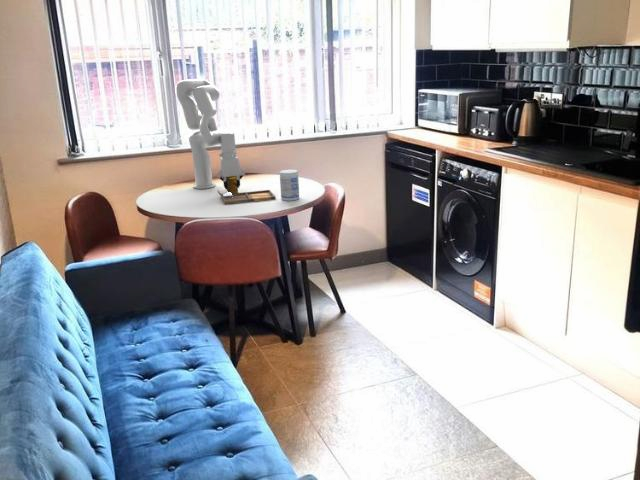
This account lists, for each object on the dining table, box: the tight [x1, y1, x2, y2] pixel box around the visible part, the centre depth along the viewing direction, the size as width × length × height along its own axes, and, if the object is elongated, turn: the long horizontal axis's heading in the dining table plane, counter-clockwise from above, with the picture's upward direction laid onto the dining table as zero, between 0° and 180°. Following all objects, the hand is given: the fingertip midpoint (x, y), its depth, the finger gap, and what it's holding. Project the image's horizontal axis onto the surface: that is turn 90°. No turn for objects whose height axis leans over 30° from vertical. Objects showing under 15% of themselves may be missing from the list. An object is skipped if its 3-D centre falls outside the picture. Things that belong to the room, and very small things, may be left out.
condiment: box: [226, 176, 239, 194], centre depth 321 cm, size 7×8×12 cm
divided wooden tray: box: [220, 189, 276, 206], centre depth 311 cm, size 16×26×2 cm, turn 105°
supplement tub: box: [279, 169, 300, 202], centre depth 305 cm, size 10×10×15 cm
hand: (232, 187), depth 322 cm, fingers closed on condiment, 6 cm apart
